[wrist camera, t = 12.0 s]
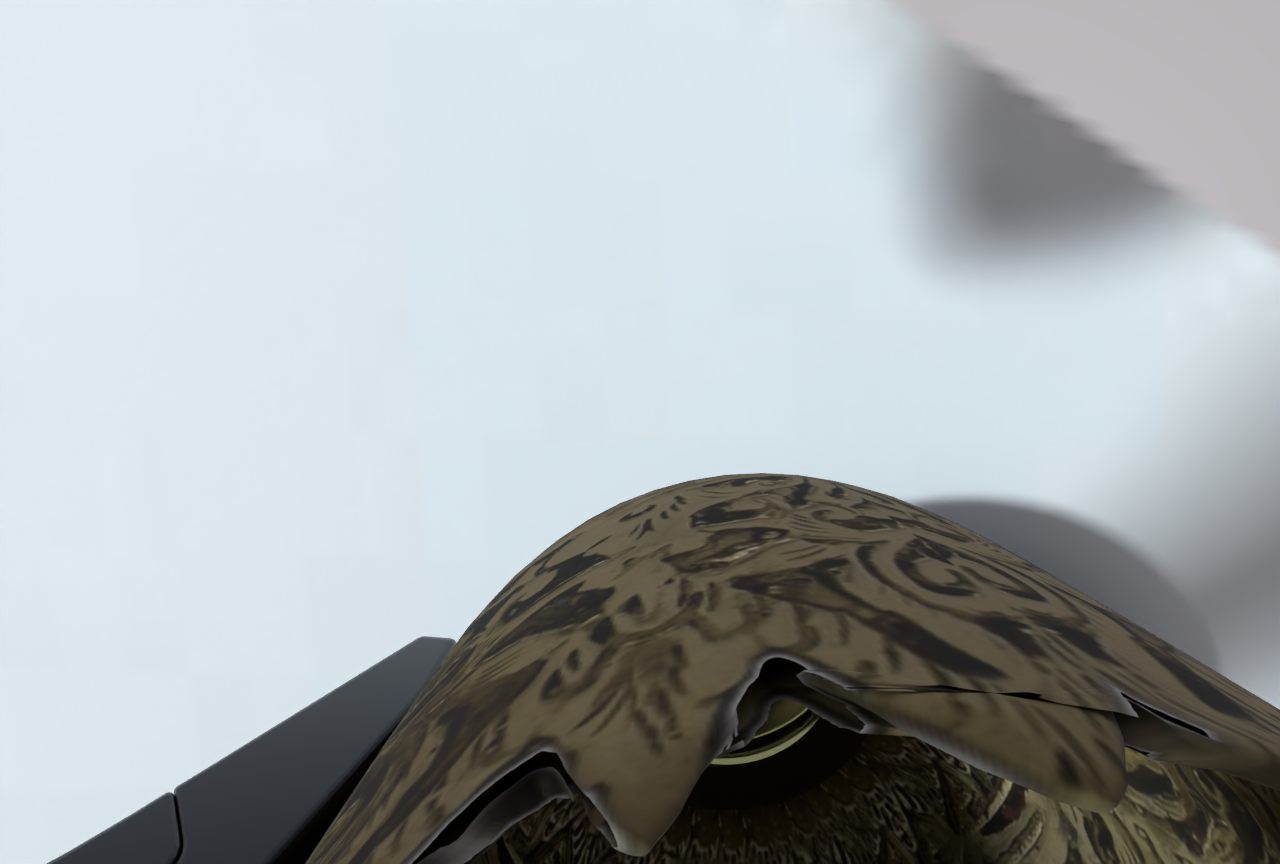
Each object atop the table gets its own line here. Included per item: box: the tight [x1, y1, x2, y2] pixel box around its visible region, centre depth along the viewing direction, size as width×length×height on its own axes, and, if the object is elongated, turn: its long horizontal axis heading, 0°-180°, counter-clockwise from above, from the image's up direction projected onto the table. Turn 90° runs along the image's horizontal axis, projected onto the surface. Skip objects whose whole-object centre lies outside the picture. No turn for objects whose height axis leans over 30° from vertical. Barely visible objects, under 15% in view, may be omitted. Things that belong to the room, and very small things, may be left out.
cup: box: [305, 473, 1280, 864], centre depth 7 cm, size 8×7×8 cm
